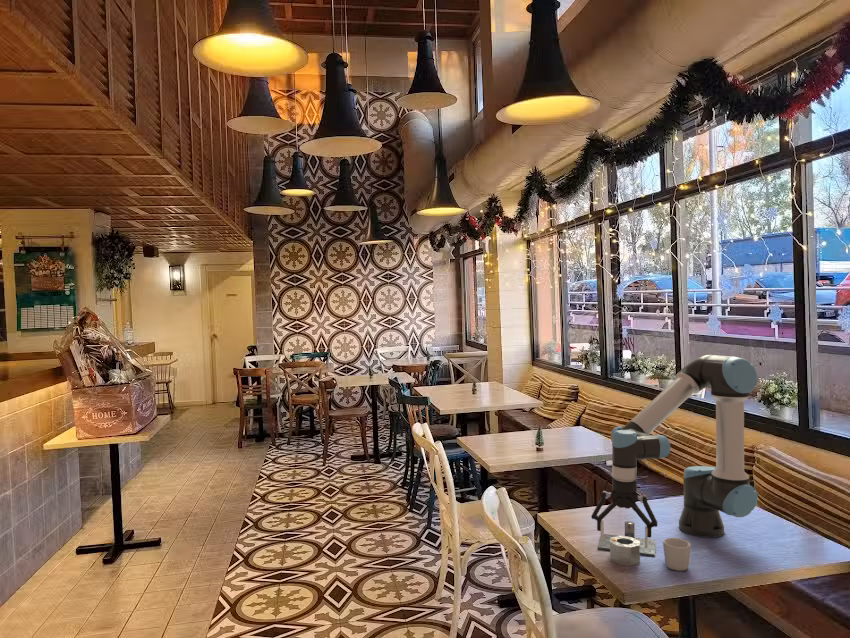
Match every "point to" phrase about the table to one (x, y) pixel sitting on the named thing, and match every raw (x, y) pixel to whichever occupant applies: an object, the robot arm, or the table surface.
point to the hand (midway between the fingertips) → (623, 543)
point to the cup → (676, 553)
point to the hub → (625, 550)
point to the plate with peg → (631, 533)
